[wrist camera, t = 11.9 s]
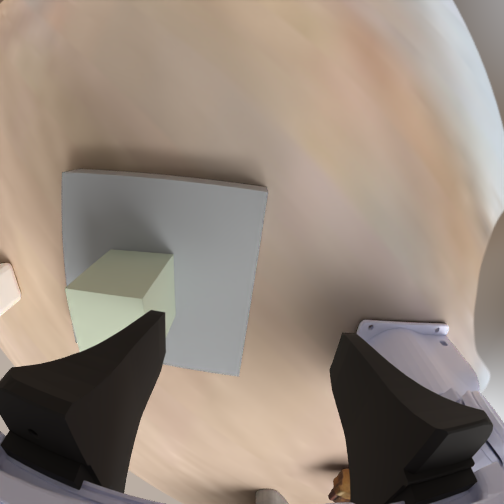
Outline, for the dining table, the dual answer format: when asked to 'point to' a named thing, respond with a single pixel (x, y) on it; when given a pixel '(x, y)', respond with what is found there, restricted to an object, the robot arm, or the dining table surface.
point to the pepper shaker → (8, 288)
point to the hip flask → (269, 497)
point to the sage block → (120, 294)
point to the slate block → (175, 250)
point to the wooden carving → (341, 488)
